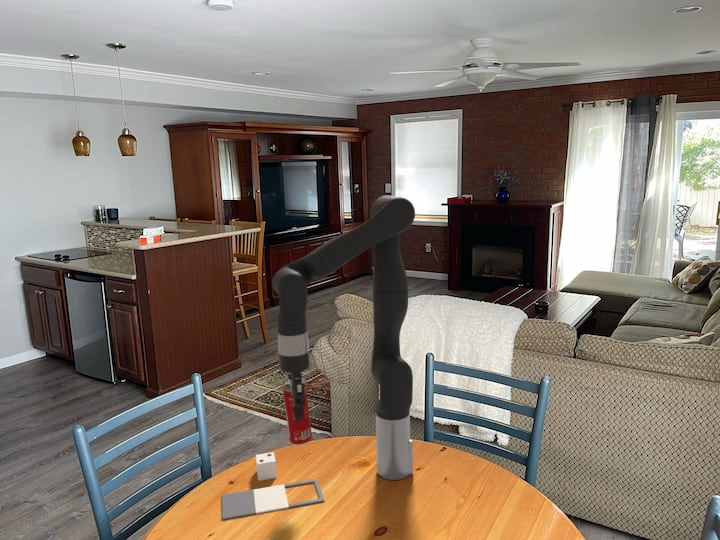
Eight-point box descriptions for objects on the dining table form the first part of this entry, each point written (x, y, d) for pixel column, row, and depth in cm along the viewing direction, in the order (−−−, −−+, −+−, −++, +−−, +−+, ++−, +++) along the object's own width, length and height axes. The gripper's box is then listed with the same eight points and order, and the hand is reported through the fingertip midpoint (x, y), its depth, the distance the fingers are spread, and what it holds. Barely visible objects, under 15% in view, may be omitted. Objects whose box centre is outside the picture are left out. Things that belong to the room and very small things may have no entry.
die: (274, 468, 150) (273, 451, 149) (276, 477, 145) (275, 460, 144) (256, 471, 149) (255, 454, 148) (258, 481, 144) (257, 463, 143)
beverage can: (316, 436, 137) (312, 381, 134) (303, 449, 131) (298, 391, 128) (296, 433, 139) (292, 379, 137) (282, 445, 134) (278, 388, 131)
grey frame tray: (317, 480, 144) (317, 478, 144) (324, 501, 134) (324, 500, 134) (222, 496, 138) (222, 494, 137) (222, 520, 128) (222, 518, 128)
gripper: (313, 357, 125) (317, 424, 128) (304, 339, 138) (308, 400, 141) (281, 361, 123) (286, 428, 126) (275, 342, 137) (279, 404, 140)
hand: (297, 413), depth 134 cm, fingers closed on beverage can, 5 cm apart
